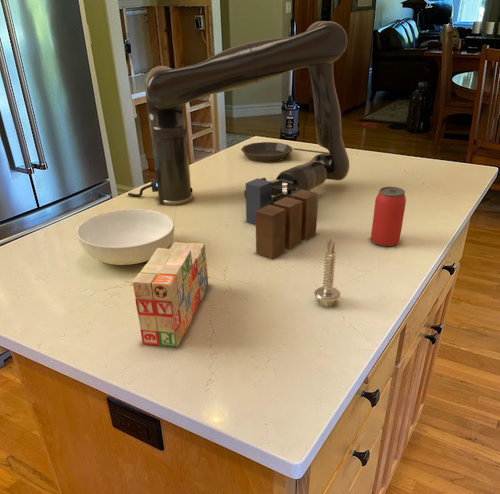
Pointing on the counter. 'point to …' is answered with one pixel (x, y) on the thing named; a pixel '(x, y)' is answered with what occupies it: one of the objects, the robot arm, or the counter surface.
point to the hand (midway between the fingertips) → (258, 198)
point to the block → (257, 197)
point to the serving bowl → (125, 235)
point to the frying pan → (270, 151)
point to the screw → (328, 278)
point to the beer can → (388, 216)
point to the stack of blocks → (170, 292)
